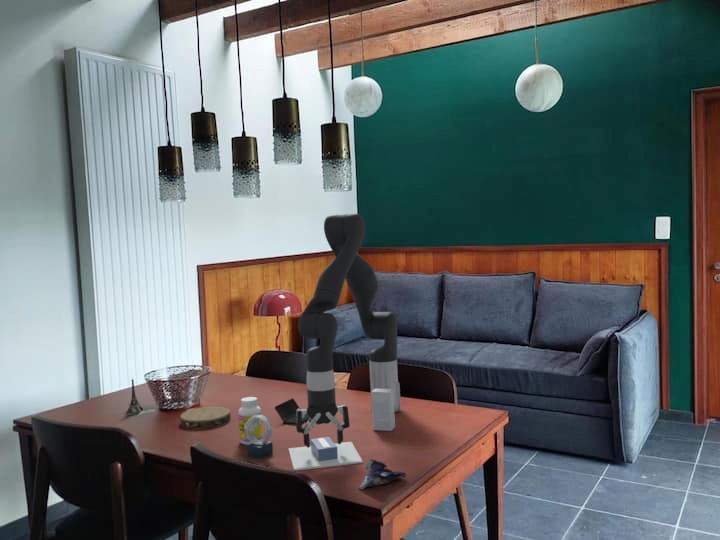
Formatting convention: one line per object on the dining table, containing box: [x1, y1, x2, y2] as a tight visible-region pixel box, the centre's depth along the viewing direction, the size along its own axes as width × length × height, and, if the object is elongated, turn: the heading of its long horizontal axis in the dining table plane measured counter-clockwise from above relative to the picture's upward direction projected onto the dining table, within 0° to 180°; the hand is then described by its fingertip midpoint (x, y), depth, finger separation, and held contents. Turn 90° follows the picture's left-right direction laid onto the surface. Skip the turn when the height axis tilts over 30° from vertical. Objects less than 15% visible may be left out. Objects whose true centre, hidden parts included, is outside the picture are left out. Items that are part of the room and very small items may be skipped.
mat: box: [287, 441, 363, 472], centre depth 174 cm, size 18×16×1 cm
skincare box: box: [370, 389, 396, 432], centre depth 195 cm, size 6×4×12 cm
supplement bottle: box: [237, 396, 263, 446], centre depth 189 cm, size 7×7×13 cm
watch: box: [244, 414, 274, 460], centre depth 177 cm, size 6×8×11 cm
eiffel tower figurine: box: [119, 376, 156, 421], centre depth 226 cm, size 15×10×13 cm
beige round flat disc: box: [180, 406, 231, 429], centre depth 212 cm, size 16×16×3 cm
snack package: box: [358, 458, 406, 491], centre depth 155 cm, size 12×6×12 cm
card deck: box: [310, 436, 338, 461], centre depth 174 cm, size 9×5×3 cm, turn 17°
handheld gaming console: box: [274, 398, 310, 426], centre depth 210 cm, size 12×7×10 cm
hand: (323, 445), depth 174 cm, fingers open, 8 cm apart
